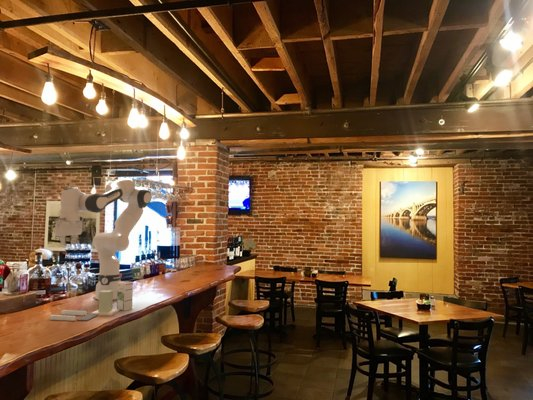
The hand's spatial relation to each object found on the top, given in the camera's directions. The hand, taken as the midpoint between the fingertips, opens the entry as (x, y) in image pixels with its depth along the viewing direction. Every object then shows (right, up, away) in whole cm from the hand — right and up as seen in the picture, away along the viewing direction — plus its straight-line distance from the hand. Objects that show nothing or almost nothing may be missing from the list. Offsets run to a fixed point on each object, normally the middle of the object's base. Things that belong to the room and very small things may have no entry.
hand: (68, 244), depth 206 cm
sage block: (+22, -33, -6) cm, 40 cm away
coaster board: (+22, -34, -6) cm, 41 cm away
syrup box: (+29, -35, +3) cm, 45 cm away
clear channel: (+11, -34, -16) cm, 39 cm away
